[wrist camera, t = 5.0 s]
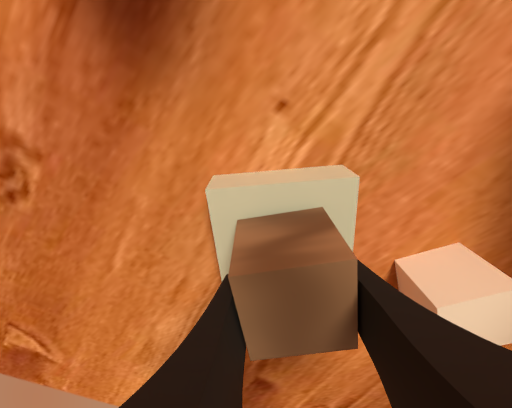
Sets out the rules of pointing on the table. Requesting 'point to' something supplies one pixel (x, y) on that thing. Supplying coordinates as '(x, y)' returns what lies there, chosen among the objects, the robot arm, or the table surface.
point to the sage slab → (280, 200)
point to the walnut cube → (294, 285)
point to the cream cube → (460, 290)
